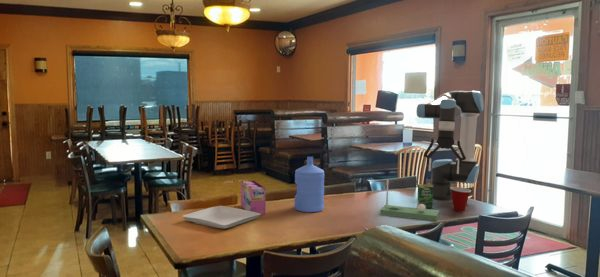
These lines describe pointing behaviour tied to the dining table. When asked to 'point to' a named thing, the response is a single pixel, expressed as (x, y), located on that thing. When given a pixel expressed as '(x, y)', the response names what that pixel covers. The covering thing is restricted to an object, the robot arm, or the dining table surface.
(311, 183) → the water jug
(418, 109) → the robot arm
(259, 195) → the gum box
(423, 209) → the ball
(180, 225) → the dining table surface
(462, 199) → the plastic cup
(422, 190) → the coffee box
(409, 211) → the putting mat
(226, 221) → the square plate
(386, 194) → the flag pin
